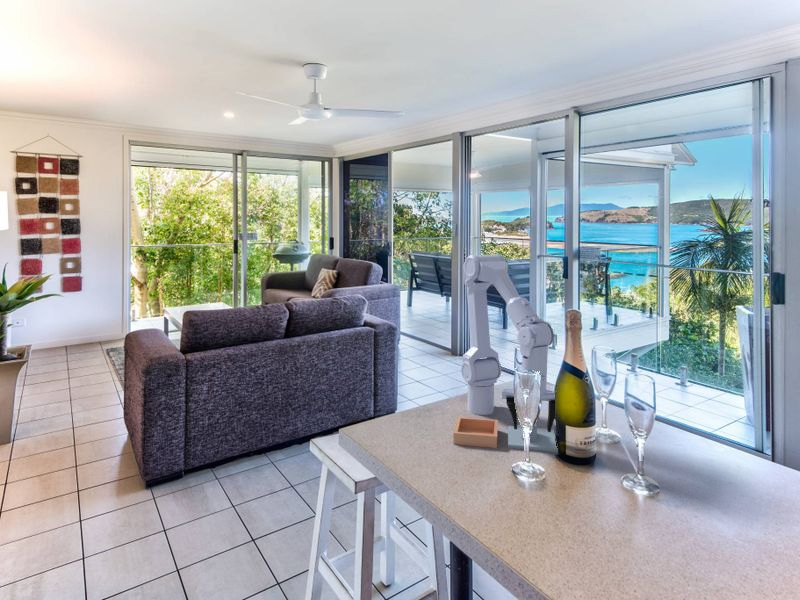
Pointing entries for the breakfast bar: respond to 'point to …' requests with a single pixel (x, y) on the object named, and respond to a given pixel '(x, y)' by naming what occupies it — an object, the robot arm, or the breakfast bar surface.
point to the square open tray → (476, 432)
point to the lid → (532, 439)
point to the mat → (533, 451)
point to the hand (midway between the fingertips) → (532, 429)
